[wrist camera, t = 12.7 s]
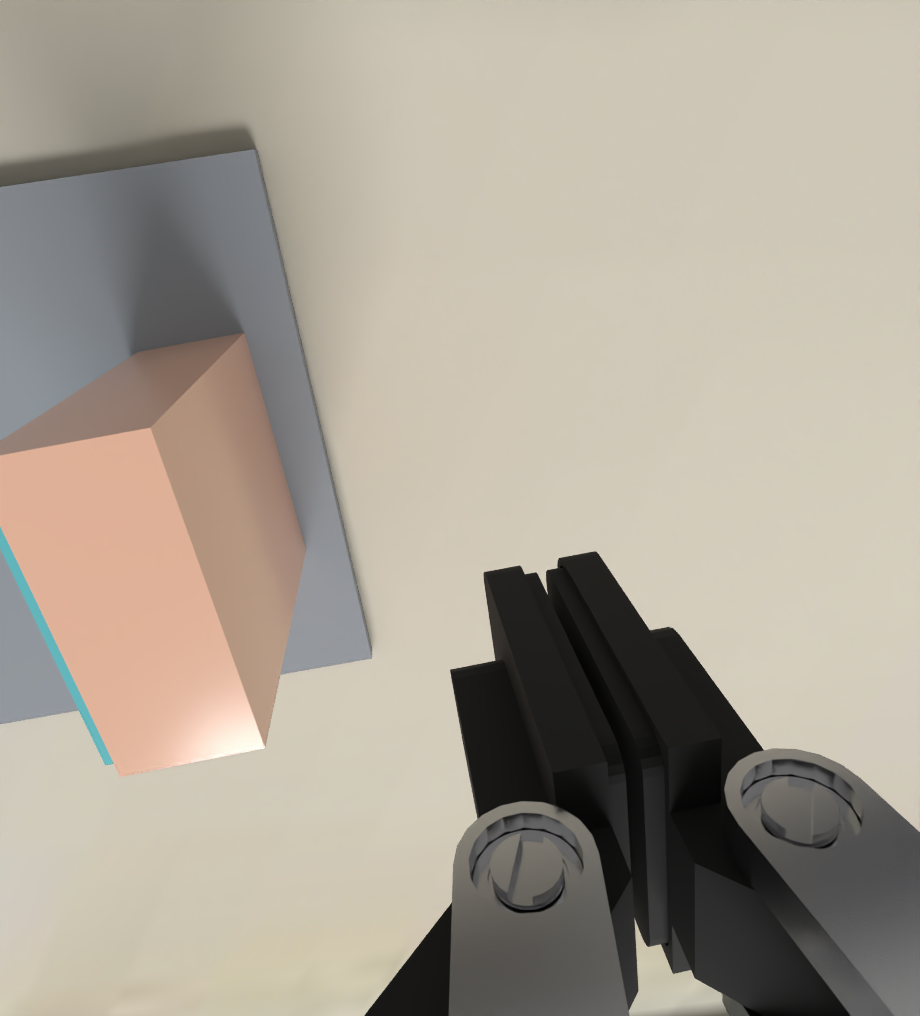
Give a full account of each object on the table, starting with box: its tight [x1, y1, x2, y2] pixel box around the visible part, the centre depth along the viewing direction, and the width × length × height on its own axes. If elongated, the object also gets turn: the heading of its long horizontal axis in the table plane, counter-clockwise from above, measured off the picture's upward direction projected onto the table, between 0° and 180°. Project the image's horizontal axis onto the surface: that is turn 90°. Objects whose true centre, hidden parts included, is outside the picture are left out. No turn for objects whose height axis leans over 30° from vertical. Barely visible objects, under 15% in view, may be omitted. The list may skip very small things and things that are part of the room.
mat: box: [0, 149, 372, 724], centre depth 21 cm, size 16×16×1 cm
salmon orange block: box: [0, 333, 306, 777], centre depth 17 cm, size 3×7×9 cm, turn 9°
